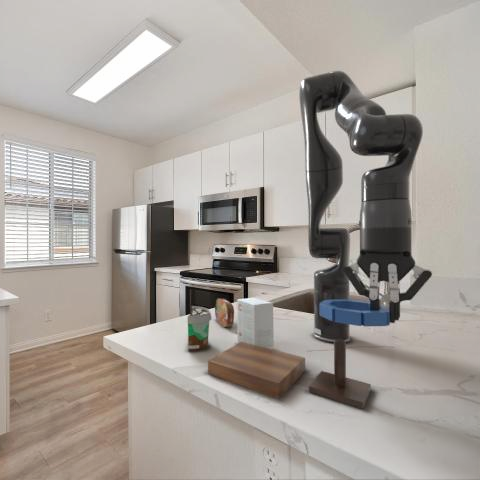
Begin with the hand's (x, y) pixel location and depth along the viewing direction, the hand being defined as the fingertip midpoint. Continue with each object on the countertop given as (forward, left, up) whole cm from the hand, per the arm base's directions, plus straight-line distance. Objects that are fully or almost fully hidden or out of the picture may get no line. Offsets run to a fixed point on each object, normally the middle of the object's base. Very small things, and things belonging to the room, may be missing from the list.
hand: (384, 320), depth 55 cm
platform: (+3, -23, -15) cm, 28 cm away
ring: (0, -5, 0) cm, 5 cm away
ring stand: (0, -7, -15) cm, 17 cm away
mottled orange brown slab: (-25, -48, -16) cm, 57 cm away
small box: (-11, -30, -16) cm, 36 cm away
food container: (-2, -42, -16) cm, 45 cm away
